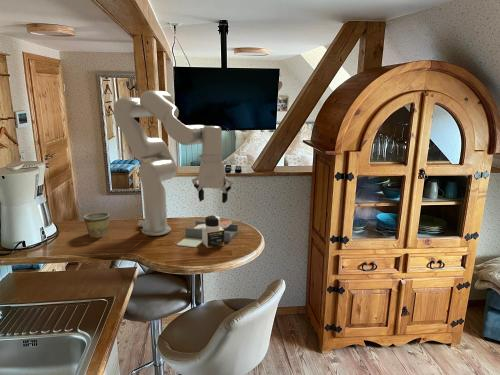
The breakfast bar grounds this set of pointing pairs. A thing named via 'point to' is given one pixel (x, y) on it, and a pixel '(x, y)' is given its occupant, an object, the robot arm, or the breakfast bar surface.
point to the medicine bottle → (212, 232)
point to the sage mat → (190, 242)
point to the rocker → (222, 225)
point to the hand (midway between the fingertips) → (213, 201)
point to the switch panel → (228, 232)
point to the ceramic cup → (97, 224)
